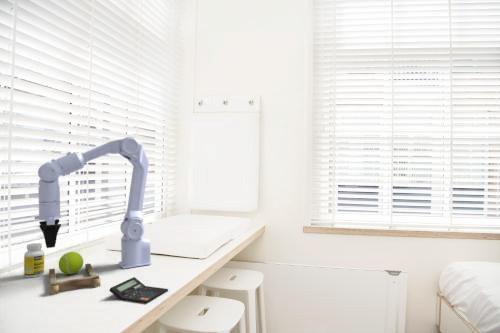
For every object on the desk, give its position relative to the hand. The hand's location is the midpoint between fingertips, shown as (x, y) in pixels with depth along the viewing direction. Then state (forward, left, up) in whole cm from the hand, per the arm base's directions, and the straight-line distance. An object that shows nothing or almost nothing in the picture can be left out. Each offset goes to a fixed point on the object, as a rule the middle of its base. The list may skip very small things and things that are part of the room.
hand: (50, 245), depth 108 cm
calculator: (-20, +31, -10) cm, 38 cm away
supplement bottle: (+4, -4, -10) cm, 12 cm away
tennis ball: (-6, +1, -10) cm, 12 cm away
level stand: (-6, +7, -10) cm, 13 cm away
